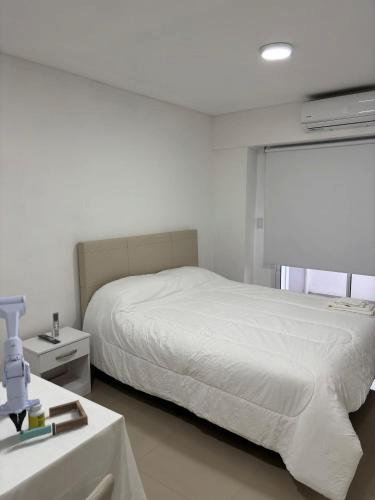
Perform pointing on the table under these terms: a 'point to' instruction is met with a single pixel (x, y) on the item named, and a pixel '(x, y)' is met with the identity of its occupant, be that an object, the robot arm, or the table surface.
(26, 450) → the table surface
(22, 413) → the robot arm
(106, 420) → the table surface
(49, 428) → the swing gate
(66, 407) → the brown frame
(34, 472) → the table surface
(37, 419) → the supplement bottle
